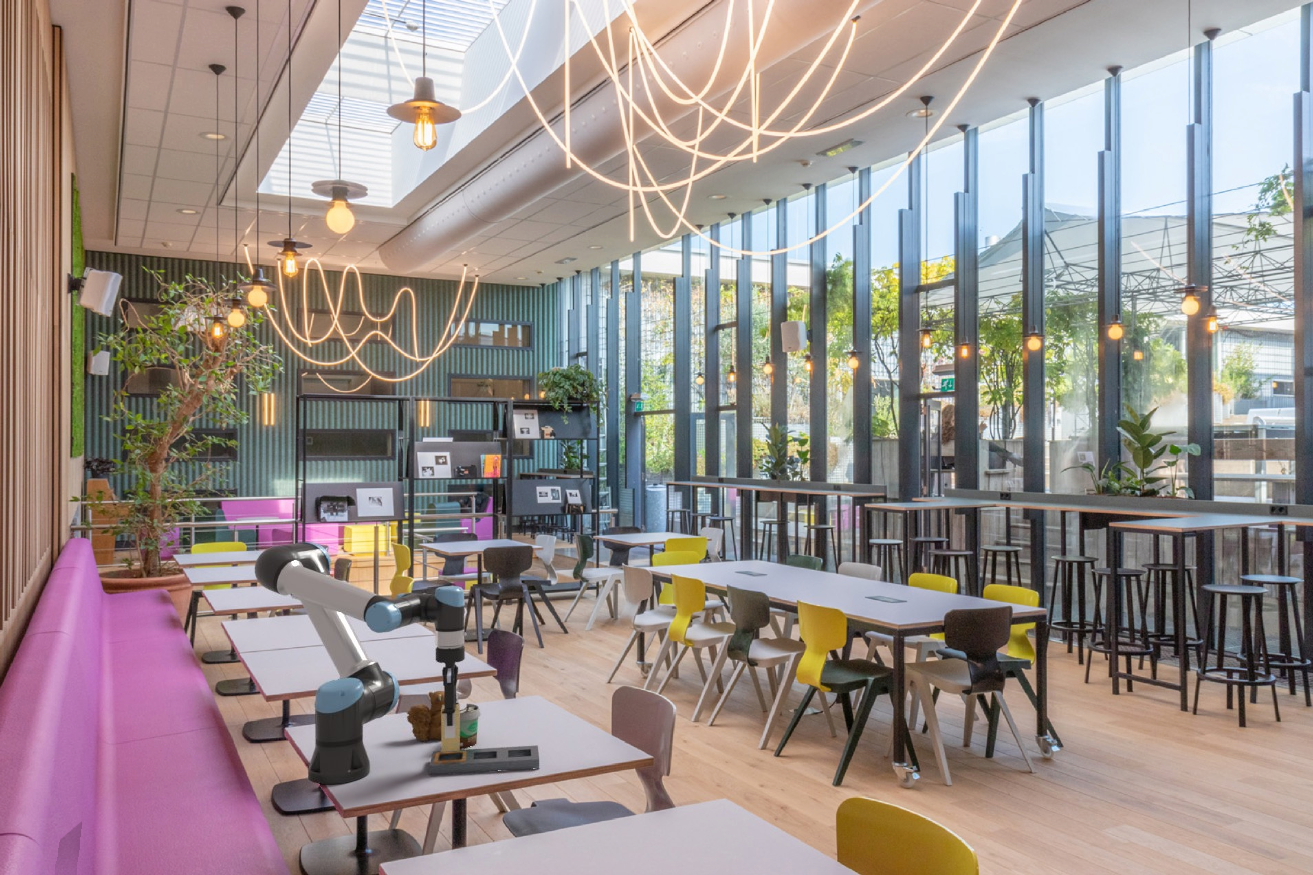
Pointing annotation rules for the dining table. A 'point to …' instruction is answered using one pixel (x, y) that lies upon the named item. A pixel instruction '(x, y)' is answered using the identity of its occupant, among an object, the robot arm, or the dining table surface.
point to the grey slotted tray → (484, 760)
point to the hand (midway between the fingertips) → (450, 734)
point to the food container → (469, 725)
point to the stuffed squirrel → (427, 718)
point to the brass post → (454, 743)
